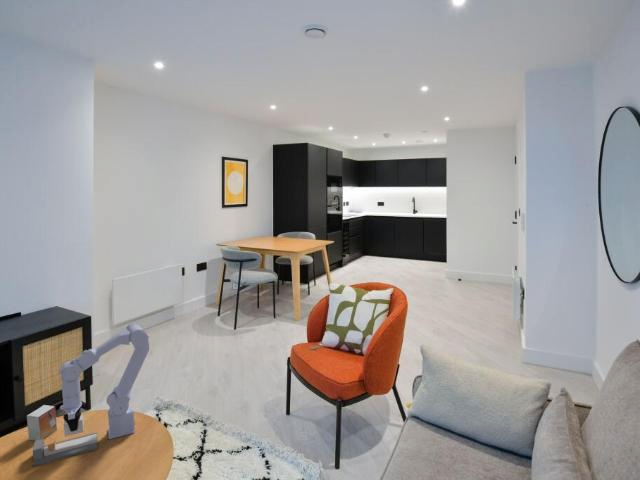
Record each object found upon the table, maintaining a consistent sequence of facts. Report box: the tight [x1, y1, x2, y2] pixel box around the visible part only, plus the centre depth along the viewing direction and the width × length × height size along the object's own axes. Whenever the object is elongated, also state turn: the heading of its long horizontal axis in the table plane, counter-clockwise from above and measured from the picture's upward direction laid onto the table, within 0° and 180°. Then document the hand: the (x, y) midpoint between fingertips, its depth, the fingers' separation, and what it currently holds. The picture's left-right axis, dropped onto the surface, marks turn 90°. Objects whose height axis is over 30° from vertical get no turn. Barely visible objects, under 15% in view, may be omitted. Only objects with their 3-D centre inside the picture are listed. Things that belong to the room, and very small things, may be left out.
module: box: [63, 413, 85, 437], centre depth 151 cm, size 6×4×5 cm
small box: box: [26, 404, 58, 442], centre depth 159 cm, size 8×6×10 cm
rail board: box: [32, 431, 98, 467], centre depth 151 cm, size 20×10×5 cm, turn 119°
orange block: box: [47, 437, 57, 451], centre depth 148 cm, size 2×4×2 cm, turn 29°
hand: (74, 426), depth 151 cm, fingers closed on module, 4 cm apart
